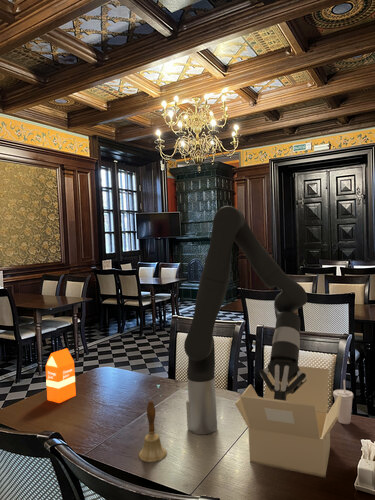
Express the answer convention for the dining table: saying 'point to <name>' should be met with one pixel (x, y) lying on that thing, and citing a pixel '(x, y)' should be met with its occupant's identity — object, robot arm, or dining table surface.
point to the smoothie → (344, 404)
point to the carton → (290, 446)
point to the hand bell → (152, 440)
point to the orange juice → (60, 376)
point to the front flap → (281, 416)
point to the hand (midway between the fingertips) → (279, 407)
